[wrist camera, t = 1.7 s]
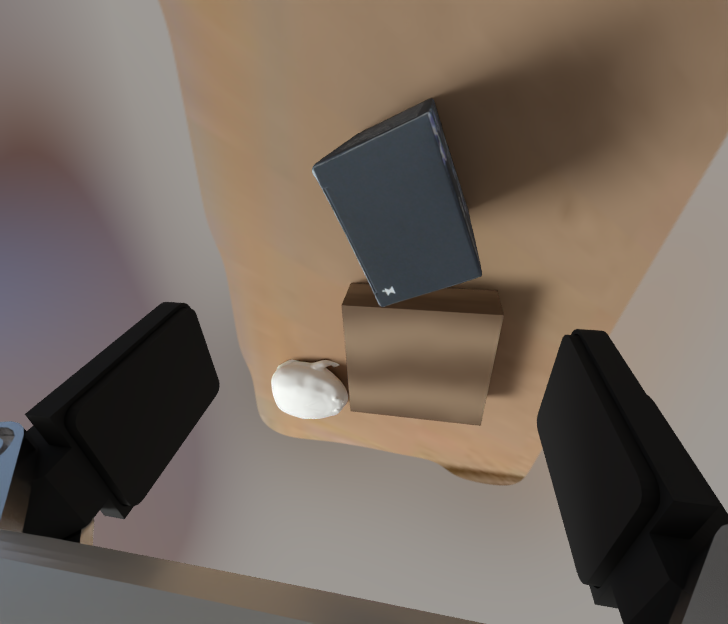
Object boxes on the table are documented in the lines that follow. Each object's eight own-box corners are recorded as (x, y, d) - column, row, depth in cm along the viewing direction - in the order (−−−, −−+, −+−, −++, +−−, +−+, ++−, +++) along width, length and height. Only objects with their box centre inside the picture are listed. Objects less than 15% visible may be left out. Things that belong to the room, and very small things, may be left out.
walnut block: (351, 280, 31) (341, 305, 28) (496, 288, 29) (503, 315, 26) (358, 381, 38) (350, 411, 35) (477, 393, 36) (480, 425, 33)
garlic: (349, 358, 36) (341, 385, 33) (353, 405, 40) (346, 434, 37) (274, 352, 38) (259, 378, 34) (285, 398, 41) (272, 425, 38)
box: (470, 210, 26) (485, 280, 17) (396, 236, 28) (377, 311, 19) (434, 93, 22) (430, 108, 14) (353, 133, 25) (306, 168, 16)
